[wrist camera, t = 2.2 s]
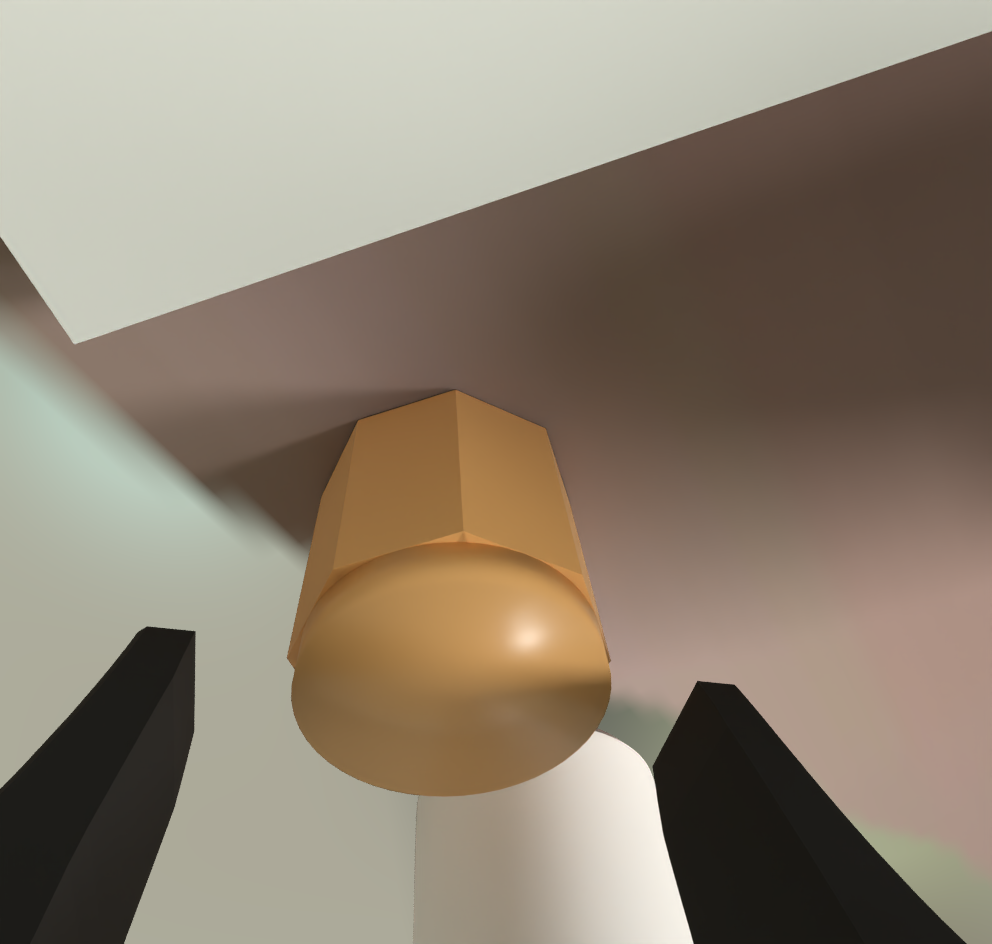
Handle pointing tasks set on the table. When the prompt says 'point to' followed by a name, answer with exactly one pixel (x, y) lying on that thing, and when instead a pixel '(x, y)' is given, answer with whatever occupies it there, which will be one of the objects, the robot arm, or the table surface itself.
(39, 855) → the robot arm
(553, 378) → the table surface
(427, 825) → the can
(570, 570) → the cap
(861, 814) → the table surface
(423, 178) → the junction box
